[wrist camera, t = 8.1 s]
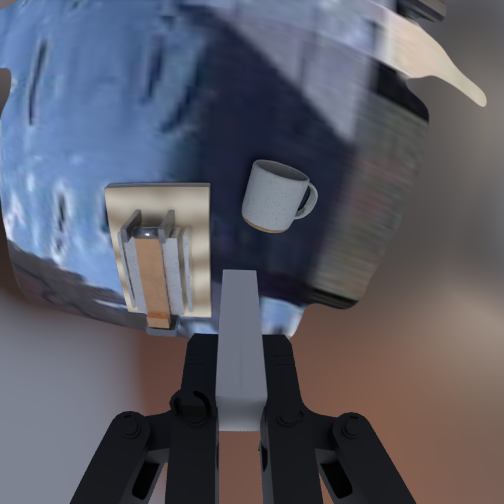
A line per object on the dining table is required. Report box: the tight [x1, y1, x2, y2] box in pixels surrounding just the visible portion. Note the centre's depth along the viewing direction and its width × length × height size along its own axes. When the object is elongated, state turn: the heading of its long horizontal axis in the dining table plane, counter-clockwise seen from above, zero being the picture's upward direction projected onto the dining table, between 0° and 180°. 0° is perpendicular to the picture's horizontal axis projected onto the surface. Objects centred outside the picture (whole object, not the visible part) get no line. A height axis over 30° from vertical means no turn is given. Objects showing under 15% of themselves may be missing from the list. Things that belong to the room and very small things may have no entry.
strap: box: [133, 227, 171, 328], centre depth 39 cm, size 17×4×2 cm, turn 176°
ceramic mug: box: [242, 160, 318, 233], centre depth 37 cm, size 11×8×8 cm
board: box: [104, 183, 212, 317], centre depth 44 cm, size 24×16×2 cm, turn 176°
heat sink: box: [117, 210, 195, 337], centre depth 41 cm, size 20×11×6 cm, turn 176°
